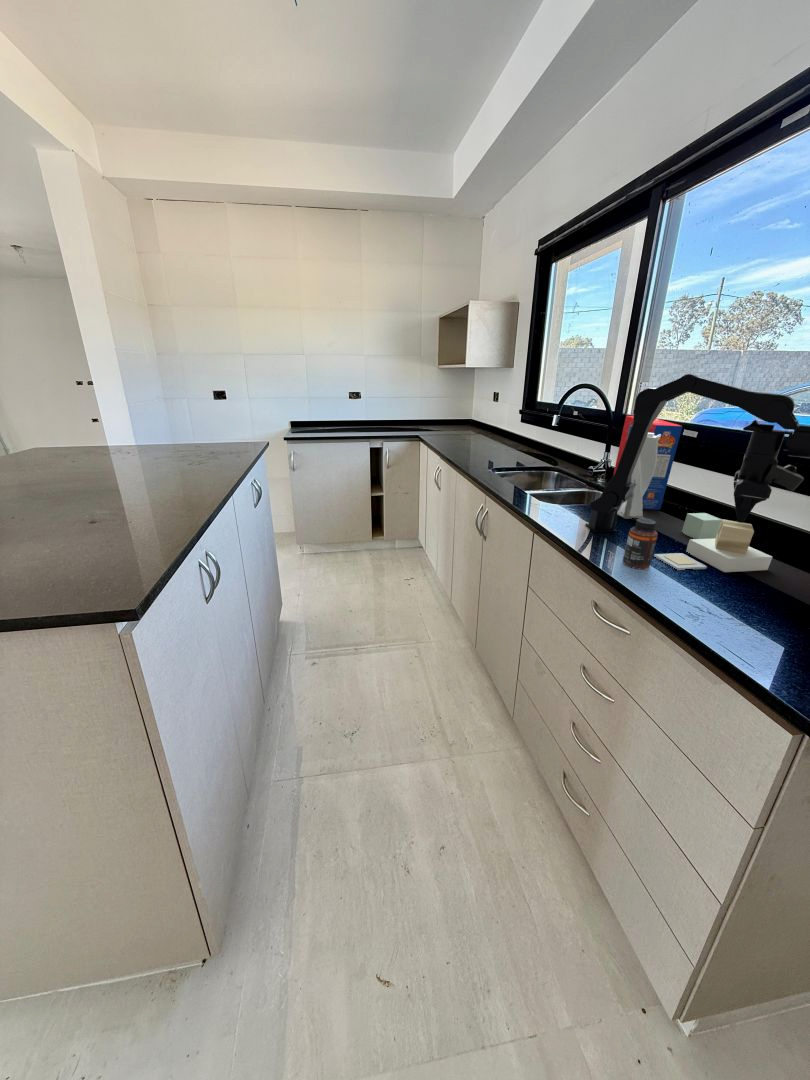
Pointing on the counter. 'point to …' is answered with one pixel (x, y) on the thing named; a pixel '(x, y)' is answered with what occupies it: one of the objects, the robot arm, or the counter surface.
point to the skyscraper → (641, 478)
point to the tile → (680, 561)
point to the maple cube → (734, 536)
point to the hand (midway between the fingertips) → (739, 517)
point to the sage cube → (701, 526)
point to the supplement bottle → (640, 544)
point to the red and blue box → (664, 458)
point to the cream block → (728, 557)
